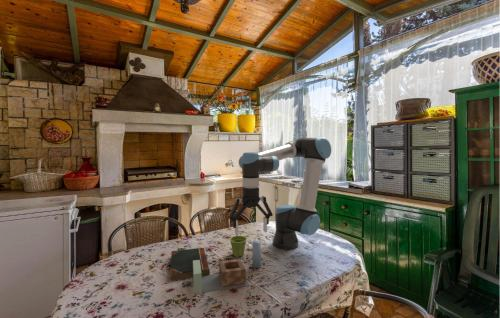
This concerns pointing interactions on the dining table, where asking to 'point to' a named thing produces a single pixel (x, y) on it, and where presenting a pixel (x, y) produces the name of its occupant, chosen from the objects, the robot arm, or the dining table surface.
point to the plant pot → (238, 245)
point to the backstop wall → (197, 276)
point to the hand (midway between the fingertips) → (251, 233)
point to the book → (187, 263)
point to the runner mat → (216, 283)
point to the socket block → (232, 272)
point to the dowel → (256, 254)
